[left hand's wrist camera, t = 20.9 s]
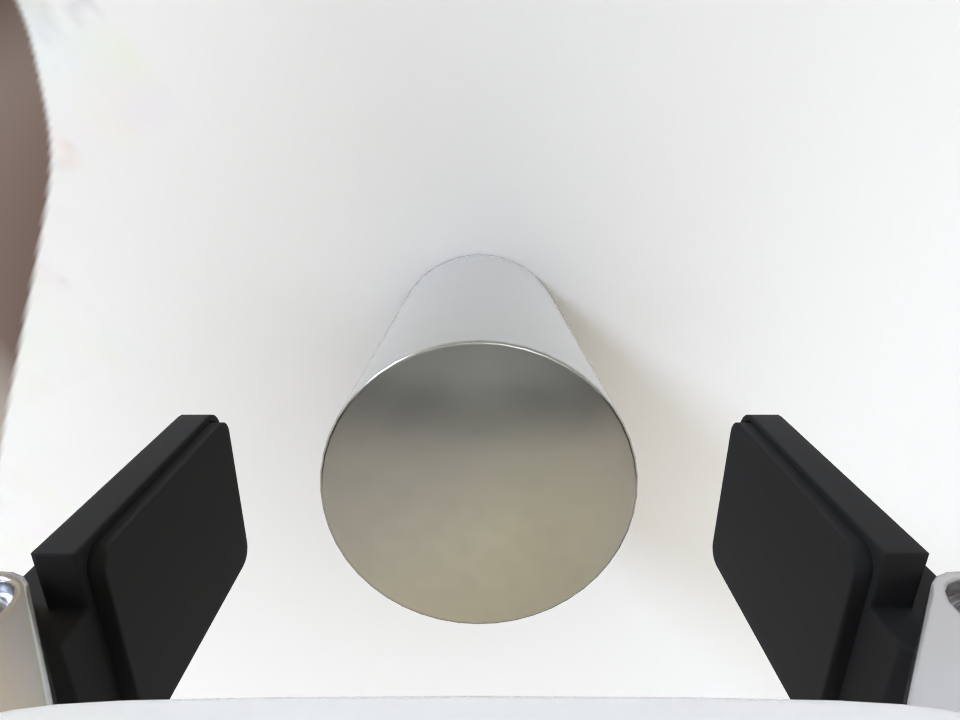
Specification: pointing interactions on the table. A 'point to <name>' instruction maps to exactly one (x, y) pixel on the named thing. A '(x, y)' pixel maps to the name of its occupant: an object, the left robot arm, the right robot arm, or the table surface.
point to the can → (479, 453)
